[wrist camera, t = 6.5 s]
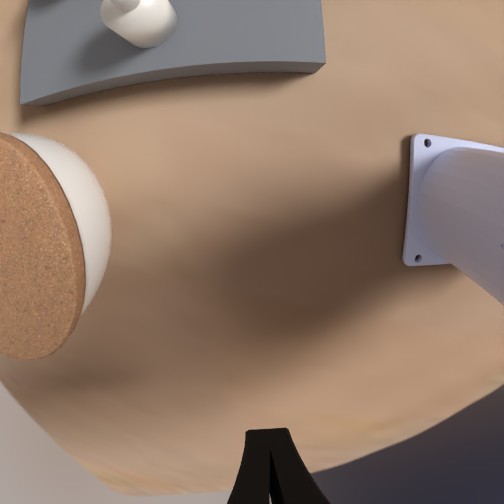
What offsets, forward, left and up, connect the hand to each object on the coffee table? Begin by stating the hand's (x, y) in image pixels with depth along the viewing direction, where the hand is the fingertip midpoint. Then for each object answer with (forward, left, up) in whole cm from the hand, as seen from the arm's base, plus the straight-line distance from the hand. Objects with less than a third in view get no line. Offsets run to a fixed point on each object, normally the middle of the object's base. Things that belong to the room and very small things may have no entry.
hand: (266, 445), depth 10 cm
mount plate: (+5, -20, -10) cm, 23 cm away
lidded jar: (+12, -6, -11) cm, 17 cm away
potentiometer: (+5, -16, -8) cm, 18 cm away
